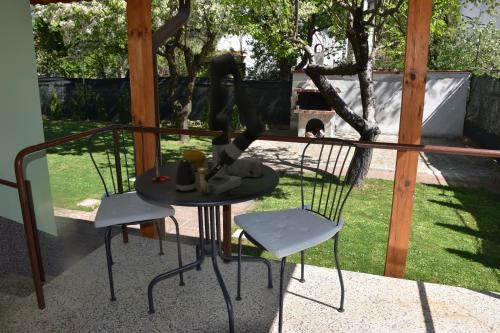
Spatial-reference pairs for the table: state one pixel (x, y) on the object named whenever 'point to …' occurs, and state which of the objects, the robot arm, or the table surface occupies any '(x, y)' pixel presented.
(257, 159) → the stone
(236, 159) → the robot arm
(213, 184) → the hitch plate
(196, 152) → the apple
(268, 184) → the table surface
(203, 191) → the gold cylinder
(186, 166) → the dark grey ribbed bell
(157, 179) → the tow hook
